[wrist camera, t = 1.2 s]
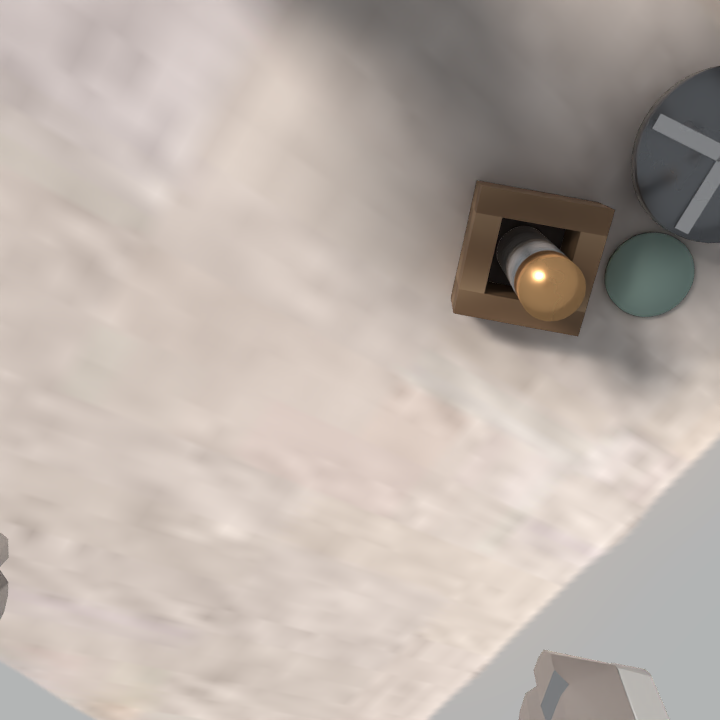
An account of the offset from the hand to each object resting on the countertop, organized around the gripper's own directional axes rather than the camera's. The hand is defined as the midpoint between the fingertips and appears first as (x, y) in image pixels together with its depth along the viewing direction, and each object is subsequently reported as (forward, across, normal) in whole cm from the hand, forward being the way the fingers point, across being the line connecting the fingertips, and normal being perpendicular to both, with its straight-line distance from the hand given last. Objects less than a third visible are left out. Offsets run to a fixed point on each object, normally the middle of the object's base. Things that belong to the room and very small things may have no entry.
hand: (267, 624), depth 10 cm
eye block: (+38, -9, 0) cm, 39 cm away
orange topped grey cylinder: (+38, -9, 0) cm, 39 cm away
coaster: (+38, -18, -1) cm, 42 cm away
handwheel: (+36, -19, -9) cm, 41 cm away
